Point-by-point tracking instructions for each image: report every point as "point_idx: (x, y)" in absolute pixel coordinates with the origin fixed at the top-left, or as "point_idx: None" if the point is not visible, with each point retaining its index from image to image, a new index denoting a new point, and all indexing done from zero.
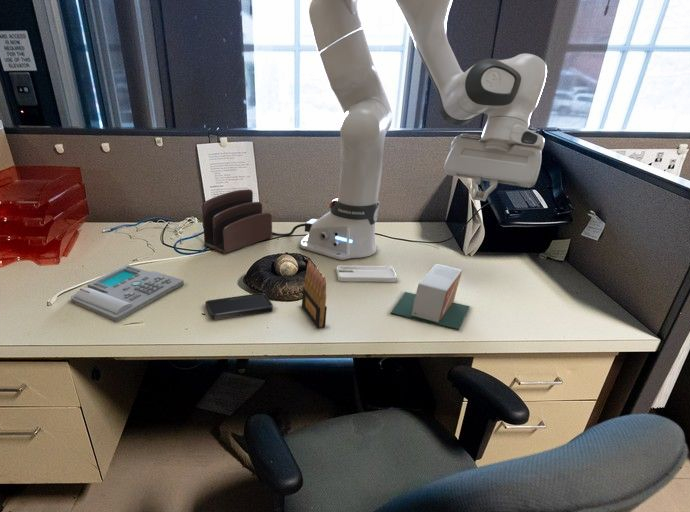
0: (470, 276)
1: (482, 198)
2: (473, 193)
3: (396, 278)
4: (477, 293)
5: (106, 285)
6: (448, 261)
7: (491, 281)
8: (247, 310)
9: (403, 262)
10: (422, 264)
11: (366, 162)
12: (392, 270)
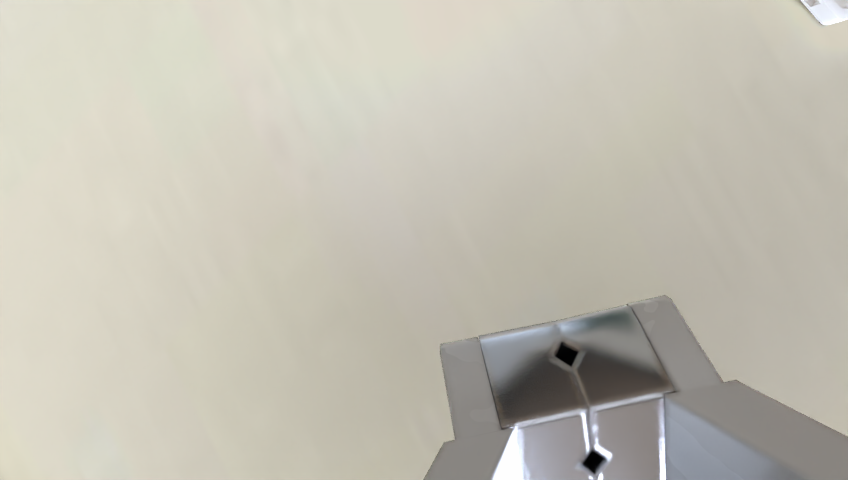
0: (416, 322)
1: (486, 339)
2: (692, 333)
3: None
4: (267, 125)
5: None
6: None
7: (291, 346)
8: None
9: (835, 210)
10: (726, 271)
11: None
12: (815, 4)
